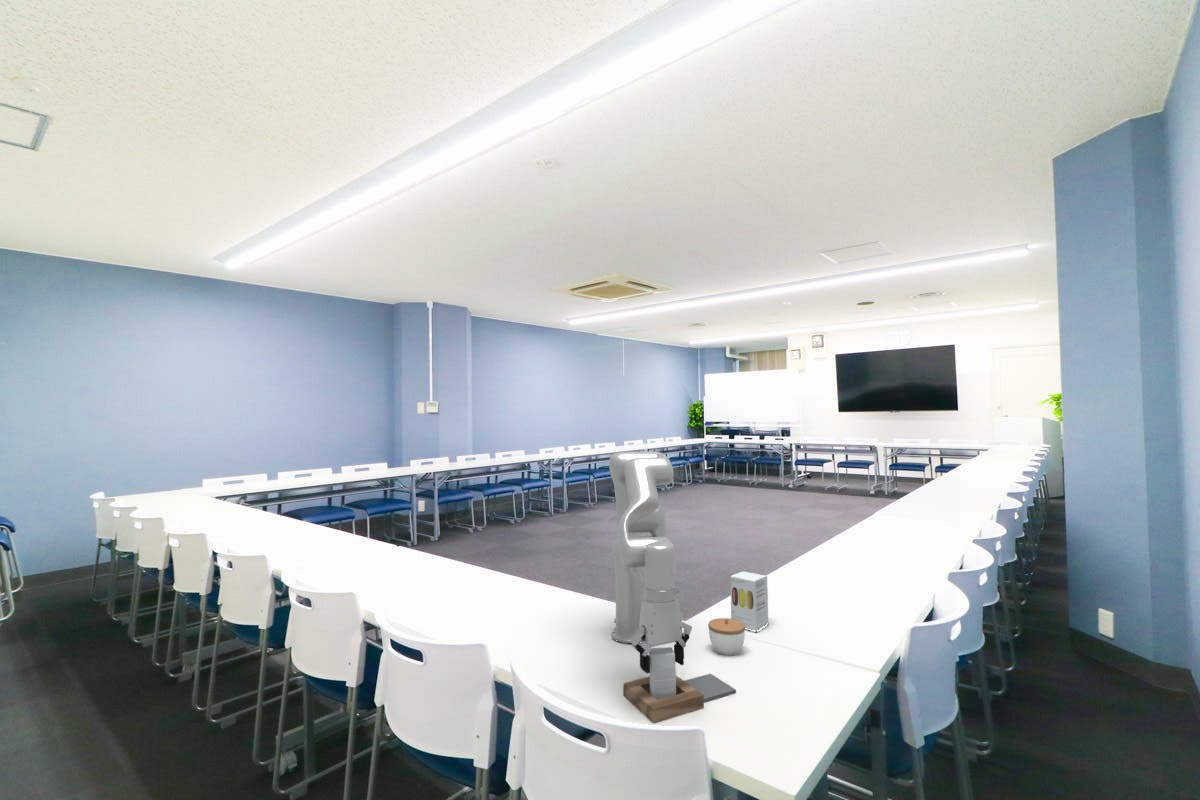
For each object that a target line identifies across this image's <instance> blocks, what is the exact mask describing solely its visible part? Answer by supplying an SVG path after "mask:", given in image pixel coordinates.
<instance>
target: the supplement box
mask: <svg viewBox="0 0 1200 800" xmlns="http://www.w3.org/2000/svg"><path fill="white" fill-rule="evenodd" d="M768 592H769V591H768V575H764V574H759V573H755V572H749V571H748V572H747V571H745V570H743V571H740V572H737V573H735V574H734V573H733V574H732V575H731V576H730V619H734V620H737V621H740V622H742V623H743V624H744V625H745V628H747V629H751V630H755V631H757V630H759V629H760V628H762V627H763V626H765V625H766V624H767V623H768V624H769V593H768Z"/></svg>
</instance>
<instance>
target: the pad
mask: <svg viewBox="0 0 1200 800" xmlns="http://www.w3.org/2000/svg"><path fill="white" fill-rule="evenodd" d="M683 681H685V682H686V683H688V684H689V685H691V686H692V687H693V688H695V689H696V690H698V691H699V692H700V693H702V694H703V695H704V703H706V702H711V701H713V700H717V699H720V698H724V697H727V696H731V695H735V694H736V693H737V689H736V688H734V687H732V686H731V685H729V684H728V683H726V682H725V681H723V680H721V679H720V678H718V677H717V676H715V674H714V675H713V674H712V673H708V674H707V673H706V674H704V675H701V676H696V677H692V678H689V679H685V680H684V679H683Z"/></svg>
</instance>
